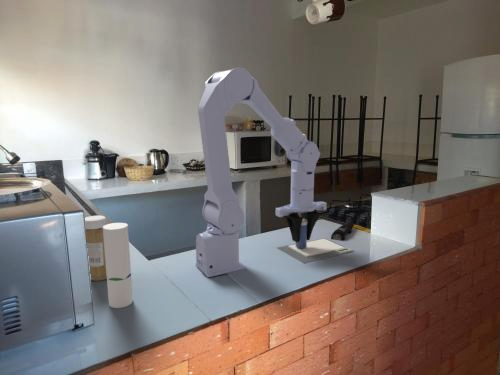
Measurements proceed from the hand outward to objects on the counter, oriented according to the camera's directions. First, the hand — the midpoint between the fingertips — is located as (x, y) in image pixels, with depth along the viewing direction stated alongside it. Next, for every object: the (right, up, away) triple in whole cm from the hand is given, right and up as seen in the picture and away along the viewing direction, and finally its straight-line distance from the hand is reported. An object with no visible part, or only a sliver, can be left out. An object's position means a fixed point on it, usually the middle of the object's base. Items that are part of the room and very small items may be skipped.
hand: (301, 240), depth 99 cm
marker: (0, -2, 0) cm, 2 cm away
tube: (-38, -8, -27) cm, 47 cm away
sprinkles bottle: (-46, -6, -15) cm, 49 cm away
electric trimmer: (+14, -1, +14) cm, 20 cm away
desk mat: (+4, -3, 0) cm, 5 cm away
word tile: (+10, -3, -1) cm, 11 cm away
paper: (+4, -3, +1) cm, 5 cm away
